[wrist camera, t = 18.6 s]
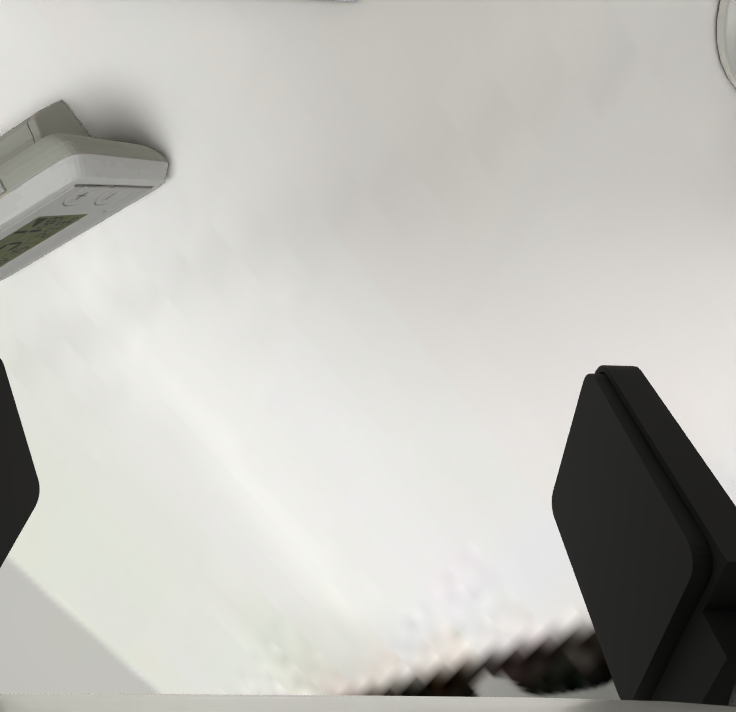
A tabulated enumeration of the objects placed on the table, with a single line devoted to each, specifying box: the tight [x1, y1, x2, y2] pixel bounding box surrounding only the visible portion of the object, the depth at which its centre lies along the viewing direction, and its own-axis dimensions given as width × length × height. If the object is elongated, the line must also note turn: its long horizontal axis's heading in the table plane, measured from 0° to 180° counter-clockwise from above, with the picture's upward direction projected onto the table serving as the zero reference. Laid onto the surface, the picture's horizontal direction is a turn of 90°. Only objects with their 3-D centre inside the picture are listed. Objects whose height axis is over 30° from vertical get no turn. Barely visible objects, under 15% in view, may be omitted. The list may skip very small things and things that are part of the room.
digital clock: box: [0, 101, 168, 281], centre depth 37 cm, size 16×9×11 cm, turn 107°
